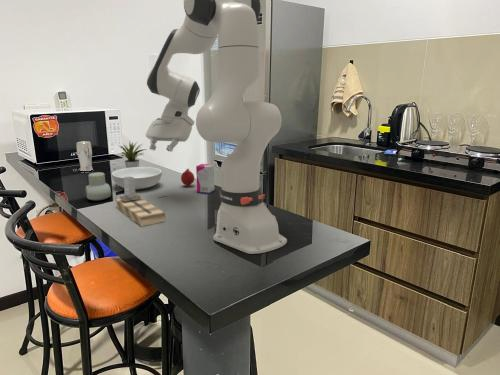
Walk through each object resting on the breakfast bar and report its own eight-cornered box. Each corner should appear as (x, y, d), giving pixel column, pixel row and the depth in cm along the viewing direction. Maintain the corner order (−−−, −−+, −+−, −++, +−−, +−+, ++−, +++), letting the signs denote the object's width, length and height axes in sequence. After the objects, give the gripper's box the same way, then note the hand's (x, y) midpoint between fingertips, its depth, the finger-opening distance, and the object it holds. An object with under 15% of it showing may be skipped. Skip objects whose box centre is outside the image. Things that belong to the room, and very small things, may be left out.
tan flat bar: (165, 221, 125) (164, 212, 124) (141, 226, 120) (141, 217, 119) (137, 203, 143) (137, 195, 142) (116, 207, 139) (115, 199, 138)
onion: (192, 188, 164) (191, 170, 162) (179, 187, 165) (178, 169, 163) (196, 185, 170) (195, 167, 167) (184, 184, 171) (183, 166, 169)
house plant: (130, 177, 182) (128, 144, 177) (110, 174, 188) (107, 141, 184) (152, 172, 194) (150, 140, 189) (132, 169, 200) (130, 138, 196)
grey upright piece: (140, 198, 137) (139, 177, 135) (124, 201, 134) (122, 179, 132) (136, 196, 140) (134, 175, 138) (120, 199, 137) (118, 177, 135)
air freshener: (112, 200, 146) (110, 175, 144) (89, 204, 142) (86, 178, 140) (107, 193, 155) (105, 170, 153) (85, 196, 152) (83, 172, 149)
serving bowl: (106, 193, 156) (104, 177, 154) (121, 181, 176) (120, 166, 174) (157, 193, 156) (156, 177, 155) (166, 181, 177) (165, 166, 175)
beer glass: (80, 170, 197) (76, 141, 193) (94, 169, 199) (91, 140, 195) (78, 173, 191) (75, 143, 187) (93, 172, 193) (90, 142, 189)
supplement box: (215, 190, 161) (214, 164, 158) (209, 194, 156) (208, 166, 153) (202, 189, 163) (201, 163, 160) (196, 192, 157) (195, 165, 154)
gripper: (149, 113, 148) (136, 145, 144) (187, 112, 136) (173, 147, 132) (161, 122, 153) (148, 153, 149) (197, 122, 141) (184, 155, 137)
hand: (160, 150), depth 140 cm, fingers open, 8 cm apart
